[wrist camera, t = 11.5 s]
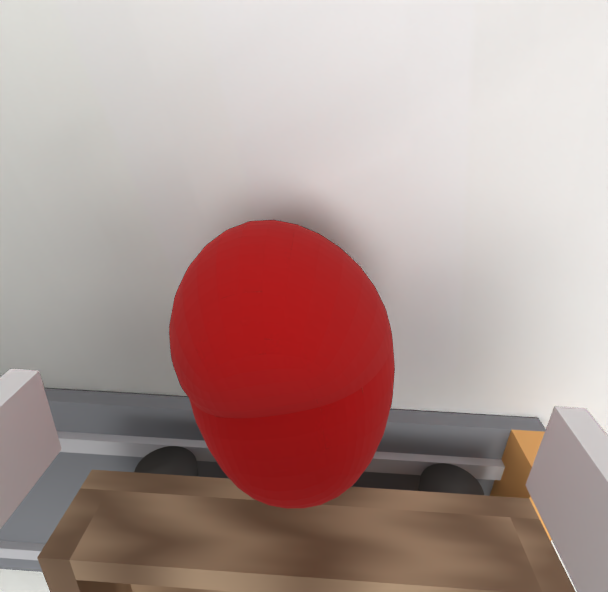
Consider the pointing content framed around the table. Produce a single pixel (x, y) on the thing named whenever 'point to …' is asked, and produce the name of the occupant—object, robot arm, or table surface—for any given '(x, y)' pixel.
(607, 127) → the table surface
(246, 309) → the light bulb
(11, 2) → the table surface
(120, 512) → the tray
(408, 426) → the track
